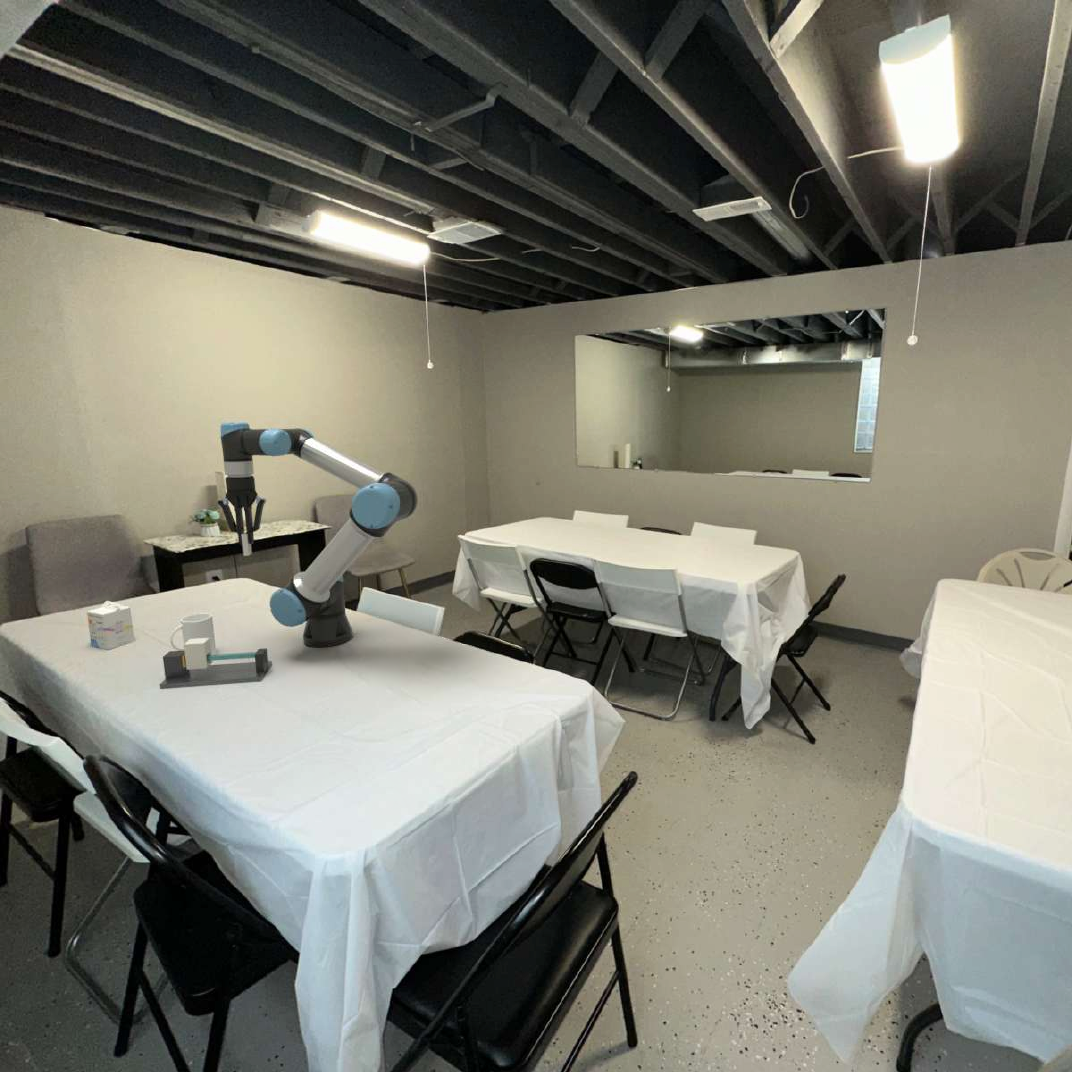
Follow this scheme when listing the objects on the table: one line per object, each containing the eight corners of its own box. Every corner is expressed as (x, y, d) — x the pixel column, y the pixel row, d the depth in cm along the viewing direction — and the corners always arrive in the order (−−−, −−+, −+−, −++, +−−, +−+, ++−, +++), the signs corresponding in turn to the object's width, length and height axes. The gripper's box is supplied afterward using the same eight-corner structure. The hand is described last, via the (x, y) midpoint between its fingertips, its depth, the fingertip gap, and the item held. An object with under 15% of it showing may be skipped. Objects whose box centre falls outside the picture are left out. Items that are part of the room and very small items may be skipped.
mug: (176, 666, 164) (171, 627, 162) (168, 658, 170) (163, 620, 168) (221, 655, 172) (216, 617, 170) (212, 647, 178) (207, 610, 176)
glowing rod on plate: (272, 664, 165) (269, 640, 164) (260, 681, 154) (258, 655, 153) (178, 671, 161) (175, 646, 159) (160, 688, 150) (156, 662, 149)
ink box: (90, 646, 179) (84, 605, 177) (118, 637, 187) (112, 598, 184) (108, 650, 176) (102, 609, 173) (135, 641, 184) (130, 601, 181)
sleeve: (212, 662, 159) (209, 637, 157) (206, 668, 155) (203, 643, 153) (193, 663, 158) (190, 638, 156) (186, 669, 154) (183, 644, 152)
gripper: (267, 474, 170) (274, 551, 175) (220, 475, 168) (228, 552, 173) (259, 476, 163) (267, 556, 168) (210, 477, 161) (219, 558, 165)
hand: (247, 554), depth 170 cm, fingers closed
